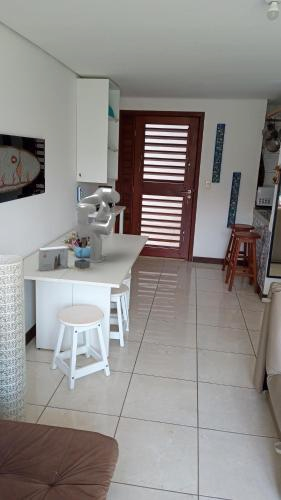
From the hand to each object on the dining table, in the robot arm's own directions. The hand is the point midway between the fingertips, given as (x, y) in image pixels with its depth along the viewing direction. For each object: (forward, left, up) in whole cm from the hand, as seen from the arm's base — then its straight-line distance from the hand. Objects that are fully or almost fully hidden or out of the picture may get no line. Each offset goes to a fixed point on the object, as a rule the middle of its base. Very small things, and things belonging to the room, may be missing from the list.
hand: (82, 246), depth 279 cm
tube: (0, 0, -17) cm, 17 cm away
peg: (0, 0, -1) cm, 1 cm away
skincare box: (+18, -10, -17) cm, 27 cm away
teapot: (-21, -26, -17) cm, 38 cm away
